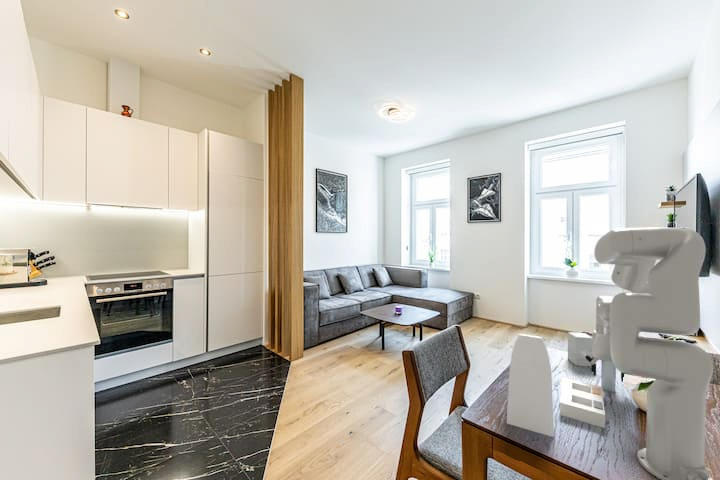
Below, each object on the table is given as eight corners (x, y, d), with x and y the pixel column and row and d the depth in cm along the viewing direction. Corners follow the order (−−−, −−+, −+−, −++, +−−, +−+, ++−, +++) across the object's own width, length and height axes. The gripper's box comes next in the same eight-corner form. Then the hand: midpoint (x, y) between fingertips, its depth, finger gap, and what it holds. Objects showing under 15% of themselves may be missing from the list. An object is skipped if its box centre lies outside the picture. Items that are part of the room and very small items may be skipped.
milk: (551, 415, 92) (552, 333, 92) (553, 437, 82) (554, 345, 82) (509, 404, 98) (509, 327, 98) (506, 423, 88) (507, 338, 88)
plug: (618, 391, 106) (618, 359, 105) (607, 391, 106) (607, 359, 106) (609, 386, 110) (609, 354, 109) (598, 386, 110) (598, 354, 110)
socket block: (605, 428, 86) (605, 413, 86) (559, 414, 92) (560, 401, 92) (600, 398, 102) (600, 385, 102) (562, 388, 108) (562, 376, 108)
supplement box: (594, 367, 125) (595, 338, 125) (575, 365, 127) (575, 337, 127) (585, 360, 132) (585, 332, 132) (567, 358, 134) (567, 331, 134)
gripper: (639, 331, 105) (639, 380, 105) (579, 323, 116) (578, 367, 116) (643, 337, 99) (642, 389, 99) (579, 328, 110) (579, 374, 110)
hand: (608, 377), depth 108 cm, fingers open, 7 cm apart
